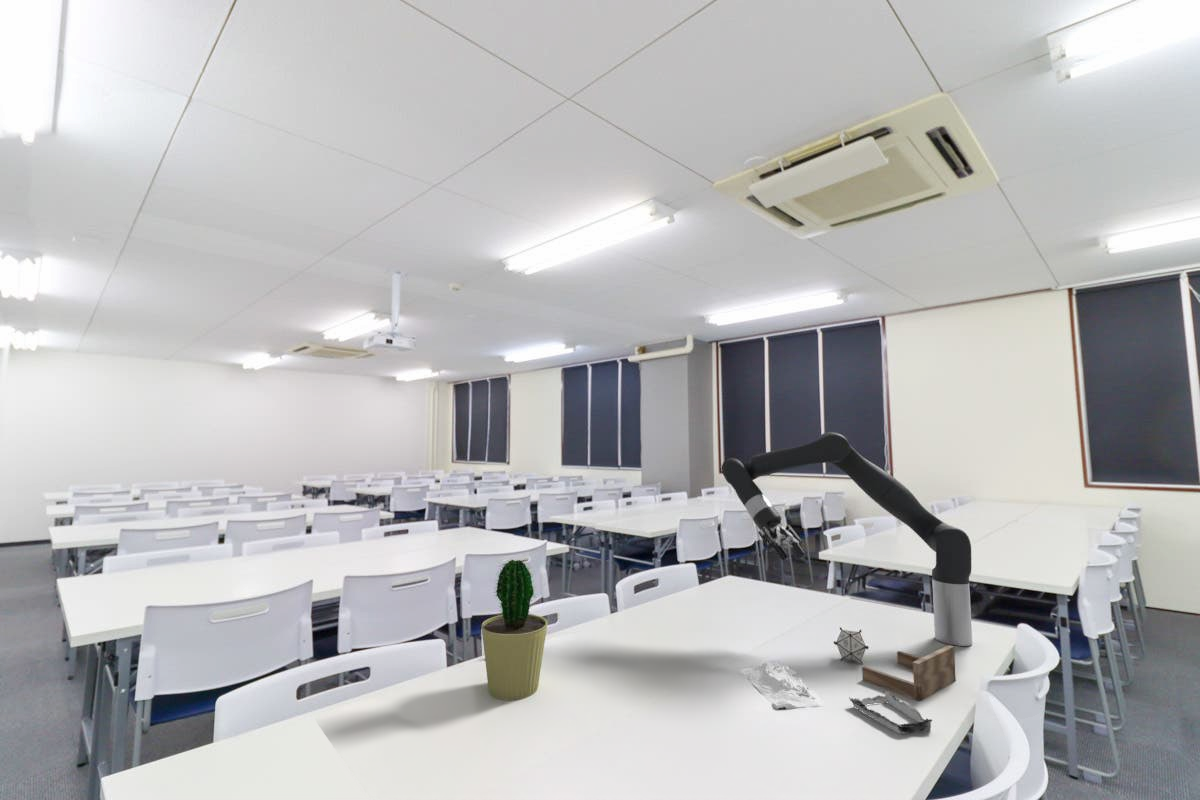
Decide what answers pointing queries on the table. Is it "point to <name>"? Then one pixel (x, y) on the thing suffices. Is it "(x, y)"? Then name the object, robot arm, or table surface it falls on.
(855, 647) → the game die
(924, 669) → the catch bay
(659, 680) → the table surface
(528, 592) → the potted cactus
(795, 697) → the terrain model
